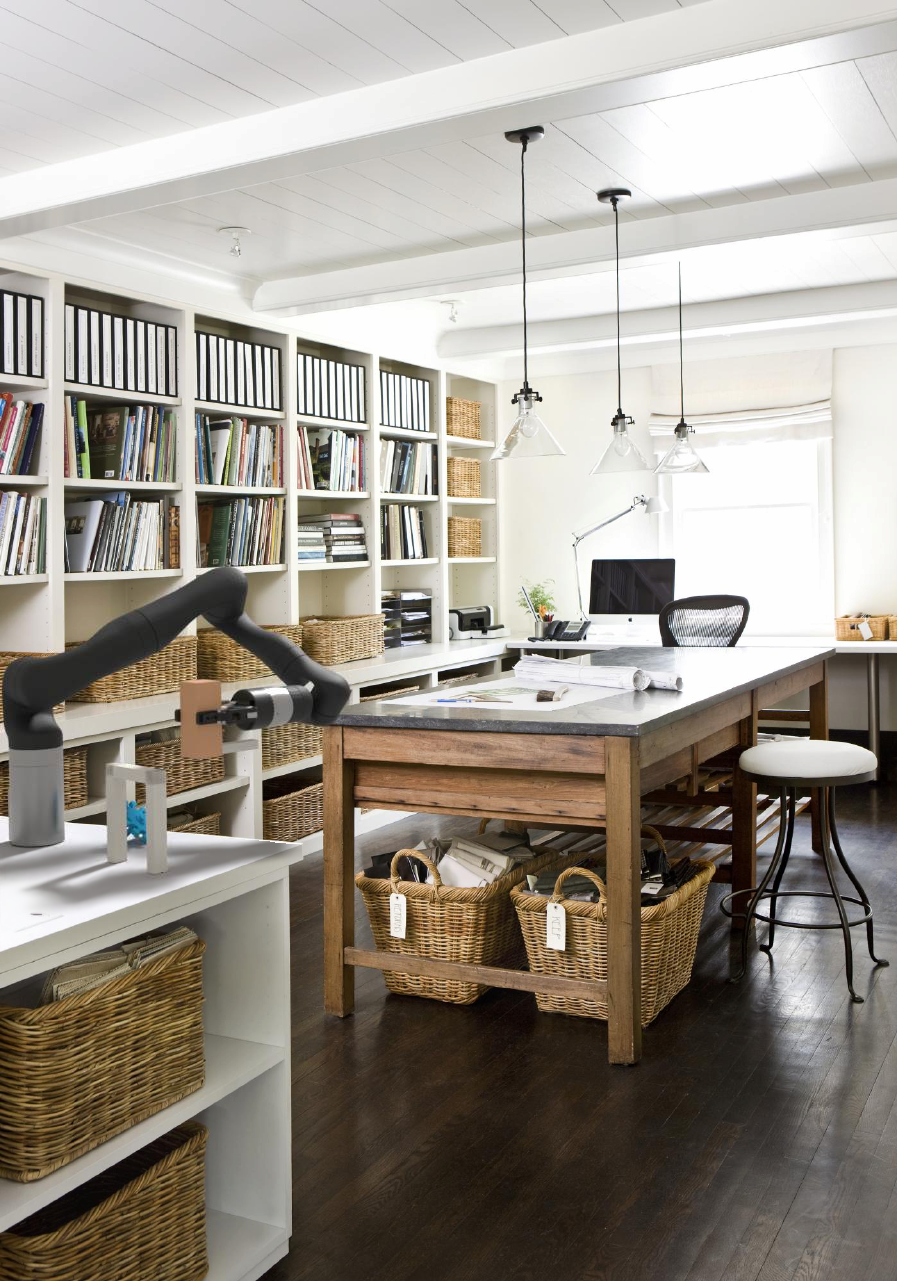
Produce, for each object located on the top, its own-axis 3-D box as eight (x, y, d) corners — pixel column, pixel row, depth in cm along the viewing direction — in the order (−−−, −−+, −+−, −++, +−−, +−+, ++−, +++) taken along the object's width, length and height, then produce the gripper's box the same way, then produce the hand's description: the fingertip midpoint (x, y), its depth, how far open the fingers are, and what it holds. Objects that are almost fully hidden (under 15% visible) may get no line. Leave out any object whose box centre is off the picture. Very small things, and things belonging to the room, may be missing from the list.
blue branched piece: (144, 841, 200) (111, 798, 203) (121, 863, 201) (88, 820, 204) (176, 835, 211) (143, 795, 213) (154, 857, 212) (122, 816, 214)
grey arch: (107, 861, 193) (105, 763, 192) (120, 858, 195) (118, 761, 194) (154, 874, 184) (153, 772, 183) (167, 871, 186) (166, 770, 185)
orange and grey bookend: (181, 756, 199) (179, 681, 198) (246, 746, 209) (245, 675, 208) (198, 759, 195) (196, 683, 194) (263, 749, 205) (262, 677, 205)
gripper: (289, 731, 205) (213, 743, 192) (236, 724, 214) (160, 735, 201) (288, 690, 204) (212, 698, 191) (236, 684, 213) (160, 692, 200)
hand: (186, 717), depth 196 cm, fingers closed on orange and grey bookend, 5 cm apart
